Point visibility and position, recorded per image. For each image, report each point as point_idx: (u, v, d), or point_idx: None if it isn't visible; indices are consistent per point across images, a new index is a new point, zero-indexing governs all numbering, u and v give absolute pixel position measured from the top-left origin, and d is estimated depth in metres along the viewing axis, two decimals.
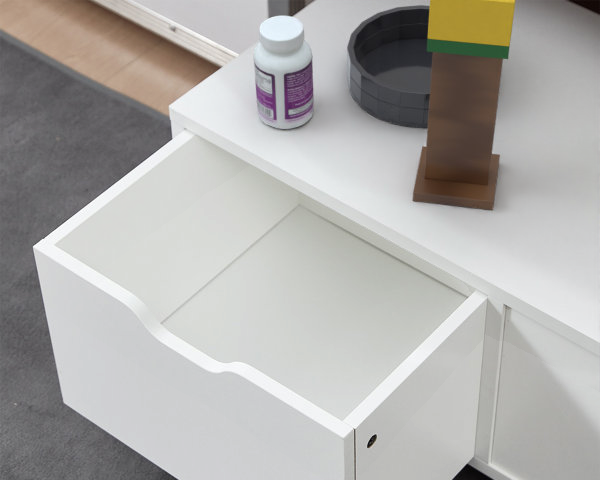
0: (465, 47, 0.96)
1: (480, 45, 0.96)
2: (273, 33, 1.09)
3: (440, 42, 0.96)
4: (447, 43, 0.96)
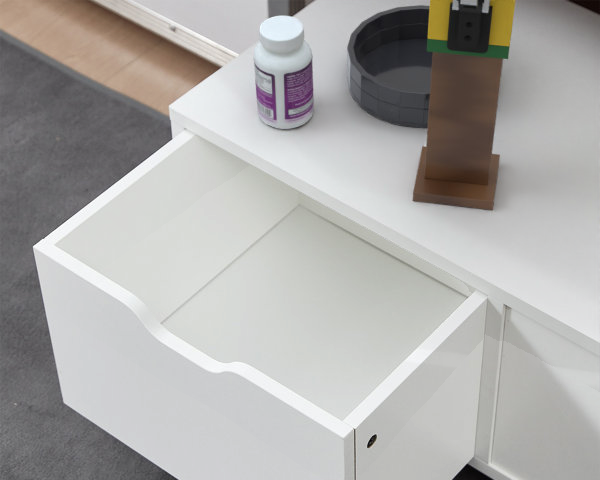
0: None
1: None
2: (273, 33, 1.09)
3: (440, 42, 0.96)
4: None
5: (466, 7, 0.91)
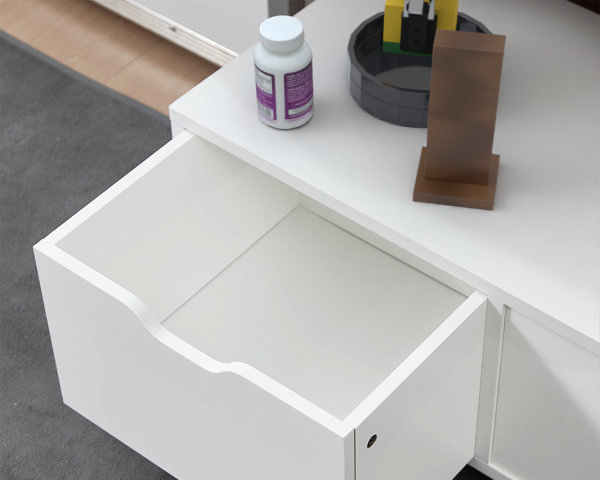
0: None
1: None
2: (273, 33, 1.09)
3: (394, 44, 1.14)
4: (399, 45, 1.14)
5: (414, 16, 1.09)
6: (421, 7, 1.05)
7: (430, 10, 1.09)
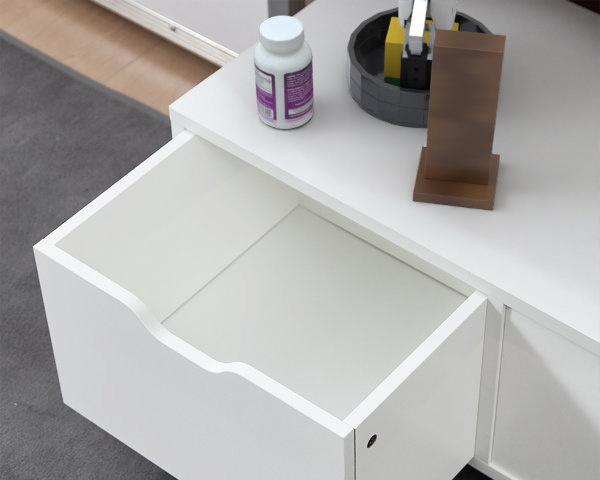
0: None
1: None
2: (273, 33, 1.09)
3: (394, 79, 1.17)
4: None
5: (413, 56, 1.09)
6: (421, 34, 1.05)
7: (430, 46, 1.09)
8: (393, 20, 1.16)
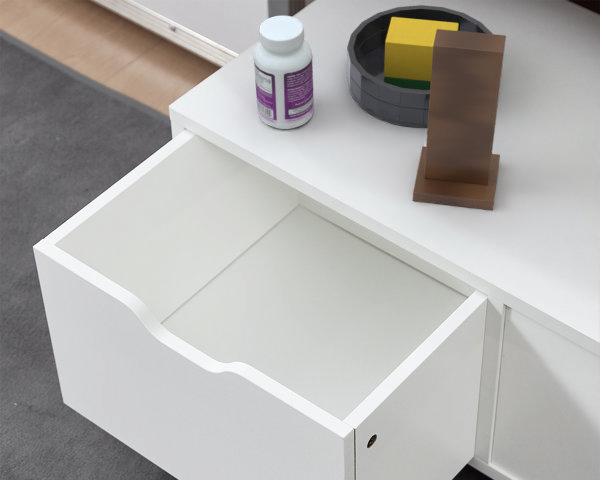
0: (415, 83, 1.17)
1: (427, 82, 1.16)
2: (273, 33, 1.09)
3: (394, 79, 1.17)
4: (400, 80, 1.17)
5: None
6: None
7: None
8: (393, 20, 1.16)
